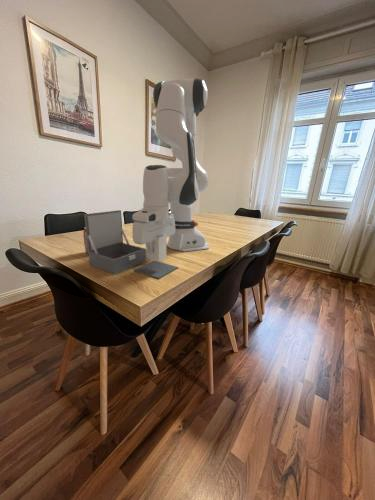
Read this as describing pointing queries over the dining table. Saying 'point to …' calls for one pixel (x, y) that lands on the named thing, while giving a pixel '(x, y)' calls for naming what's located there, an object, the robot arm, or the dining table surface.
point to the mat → (156, 269)
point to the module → (158, 249)
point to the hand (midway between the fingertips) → (156, 250)
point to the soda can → (85, 240)
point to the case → (110, 243)
